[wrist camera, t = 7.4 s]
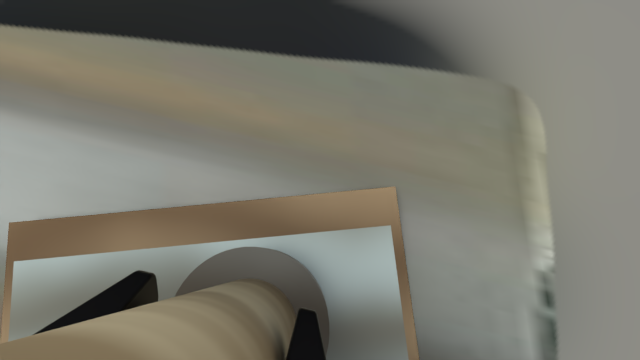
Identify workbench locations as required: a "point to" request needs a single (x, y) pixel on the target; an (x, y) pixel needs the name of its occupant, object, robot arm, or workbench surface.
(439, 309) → the workbench surface
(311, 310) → the robot arm
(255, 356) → the post
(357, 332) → the board
